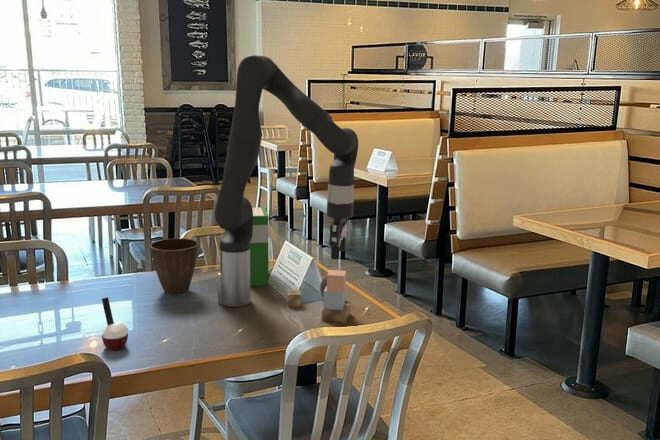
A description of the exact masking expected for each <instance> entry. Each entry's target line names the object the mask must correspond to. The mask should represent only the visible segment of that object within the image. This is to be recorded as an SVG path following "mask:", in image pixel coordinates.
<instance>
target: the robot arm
mask: <svg viewBox="0 0 660 440" xmlns="http://www.w3.org/2000/svg"><path fill="white" fill-rule="evenodd" d="M235 84H236V86H235V87H236V88H235V101H234V107H233V109H234V110H233V112H232V113H233V115H232V122H231V127H230V131H229V132H230V133H229V137H228V143H227V150H226V157H225V163H224V167H223V169H224V170H223V177H222V182H221V186H220V190H219V193H218V197H217V200H216V204H215V208H214V219H215V222H216V224H217V226H219V228H220V229H222V230H224V232H223V235H222V236H221V238H220V240H219V273H218V274H217V304H219V305H220V304H221V305H222V306H226V307H230V308H231V307H233V308H237V307H238V308H239V307H243V306H244V307H245V306H247V305H249V304H250V303H251V286H250V242H251V240H252V234H253V209H252V208H253V206H252V203H251V202H250V200H249V199H248V198H246V197H245V196H244V195H245V189H246V186H247V184H248V181H249V179H250V177H251V175H252V173H253V171H254V170H255V169H254V168H255V167H256V164H257V162H258V159H259V156H260V151H261V150H260V149H261V144H262V135H263V133H262V132H263V131H262V125H261V120H260V119H261V118H260V102H261V97H262V93H263V90H264V91H266V92H268V93H270V95H271V94H272V95H273V96H274V97H276V98H277V99H278V100H279V101H280V102H281V103H282V104H283V105H284V106H285V107H286V109H287V110H288V111H289V113H290V114H291V115H292V116H293V117H294V118H295V119H296V120H297V121H298V122H299V123H300V124H301V125H302V126H303V127H305V128H306V130H309V132H311V133H312V134H314V136H315V137H316V138H317V140H318V141H320V143H321V144H322V146H324V147H325V148H326V149H327V150H328V151H329V152H331V153H332V154H333V160H332V163H331V164H330V166H329V171H328V185H327V186H328V187H327V196H326V197H327V198H326V216H327V217H329V218H332V219H333V222H331V224H330V225H329V228H330V229H329V242H328V244H329V246H331V250H330V251H331V253H330V258H331V260H336V261H337V260H339V259H340V252H345V251H346V239H347V236H348V234H349V232H348V231H349V229H348V228H349V219H350V218H353V216H354V206H355V205H354V202H355V201H354V198H355V188H354V186H355V183H354V180H355V166H356V165H355V164H356V161H357V158H358V157H357V156H358V151H359V137H358V135H357V133H356V132H355V131H354V129H351V128H348V127H345V128H341V127H340V126H339V125H338V124H336V122H334V120H333V118H332V116H331V114H329V113H328V111H327V110H325V109H324V108H322V107H321V106H320V105H319V104H318V103H317V102H316V101H314V100H313V99H311V98H310V97H309V96H308V95H306V94H305V92H303V91H302V90H301V89H299V87H297V86H296V84H294V83H293V82H292V80H290V79H289V78H288V77H287V75H285V73H284V72H283V71H282V69H280V68H279V66H278V65H277V64H276V63H275V62H274V61H273V60H272V58H269V57H268V56H264V55H256V54H250V55H247V56H245V57H244V58H243V59H241V61H240V63H238V68H237V73H236V83H235ZM335 240H336V241H335Z"/></svg>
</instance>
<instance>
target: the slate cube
mask: <svg viewBox="0 0 660 440" xmlns="http://www.w3.org/2000/svg"><path fill="white" fill-rule="evenodd" d="M345 303H346V290H345V291H344V293H343V292H327V286H326V288H325V290H324V298H323V308H324V309H330V310H343V307H344V304H345Z"/></svg>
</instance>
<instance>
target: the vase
mask: <svg viewBox="0 0 660 440" xmlns="http://www.w3.org/2000/svg"><path fill="white" fill-rule="evenodd" d="M327 274H328V272H327V273H326V275H325V276H324V277H323V278H322V280H321V282H320V285H319V292H320V295H321V297H322V298H323V299H324V290H325V288H326V286H327Z"/></svg>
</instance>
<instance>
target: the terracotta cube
mask: <svg viewBox="0 0 660 440" xmlns="http://www.w3.org/2000/svg"><path fill="white" fill-rule="evenodd" d="M327 273H328V274H327ZM327 273H326V275H327V292H343V293H344V291H345V292H346V287H347V284H346V282H347V281H346V280H347V271H346V270H338V269H329V270H328V272H327Z"/></svg>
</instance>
